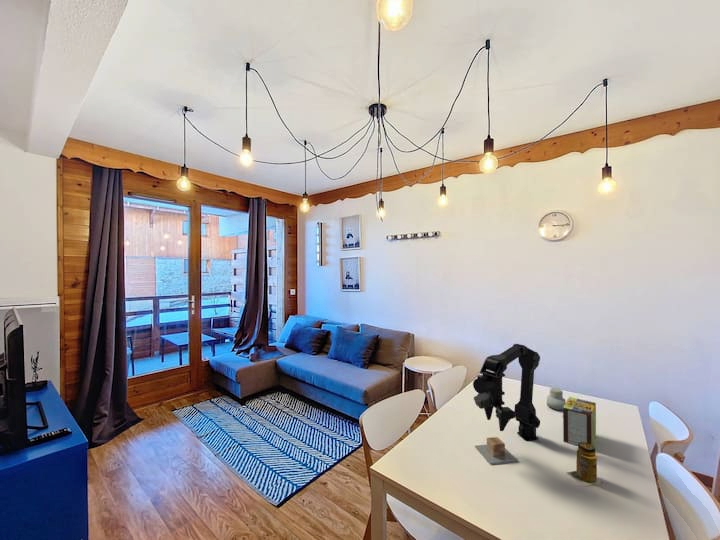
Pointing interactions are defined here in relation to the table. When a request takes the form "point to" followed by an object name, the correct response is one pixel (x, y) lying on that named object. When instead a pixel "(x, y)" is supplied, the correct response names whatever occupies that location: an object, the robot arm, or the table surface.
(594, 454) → the condiment
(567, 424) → the protein box
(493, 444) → the walnut cube
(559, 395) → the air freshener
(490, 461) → the slate pad
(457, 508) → the table surface
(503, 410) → the robot arm
